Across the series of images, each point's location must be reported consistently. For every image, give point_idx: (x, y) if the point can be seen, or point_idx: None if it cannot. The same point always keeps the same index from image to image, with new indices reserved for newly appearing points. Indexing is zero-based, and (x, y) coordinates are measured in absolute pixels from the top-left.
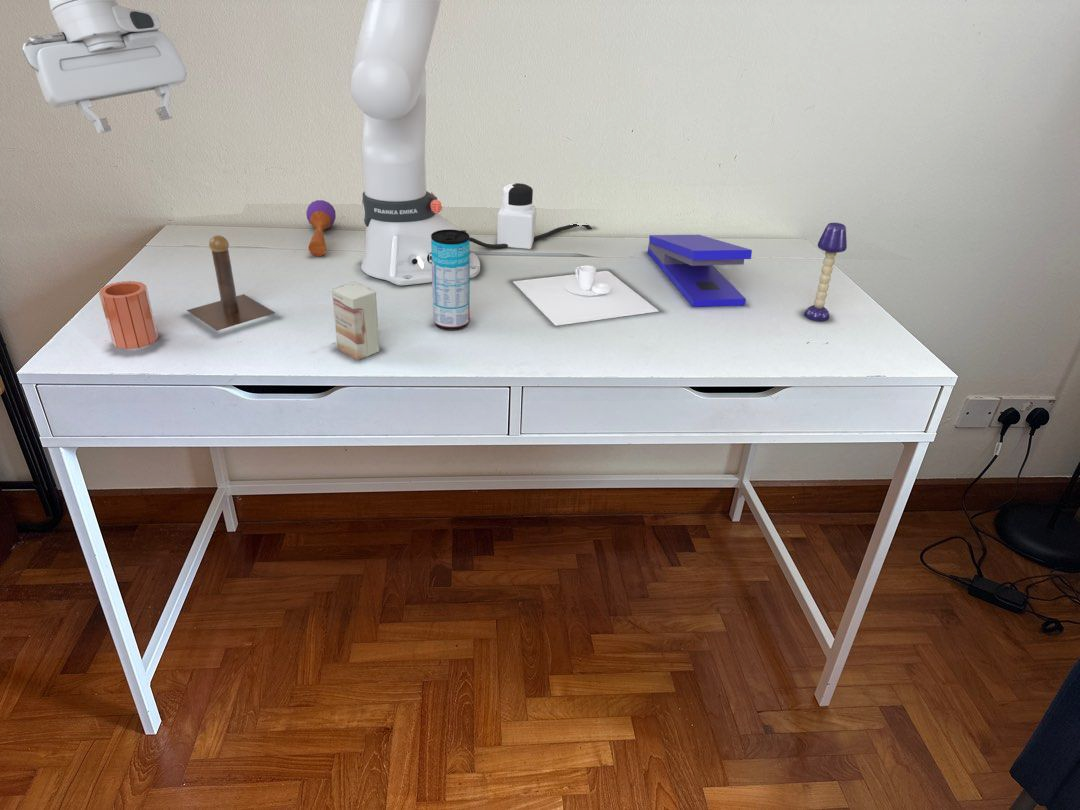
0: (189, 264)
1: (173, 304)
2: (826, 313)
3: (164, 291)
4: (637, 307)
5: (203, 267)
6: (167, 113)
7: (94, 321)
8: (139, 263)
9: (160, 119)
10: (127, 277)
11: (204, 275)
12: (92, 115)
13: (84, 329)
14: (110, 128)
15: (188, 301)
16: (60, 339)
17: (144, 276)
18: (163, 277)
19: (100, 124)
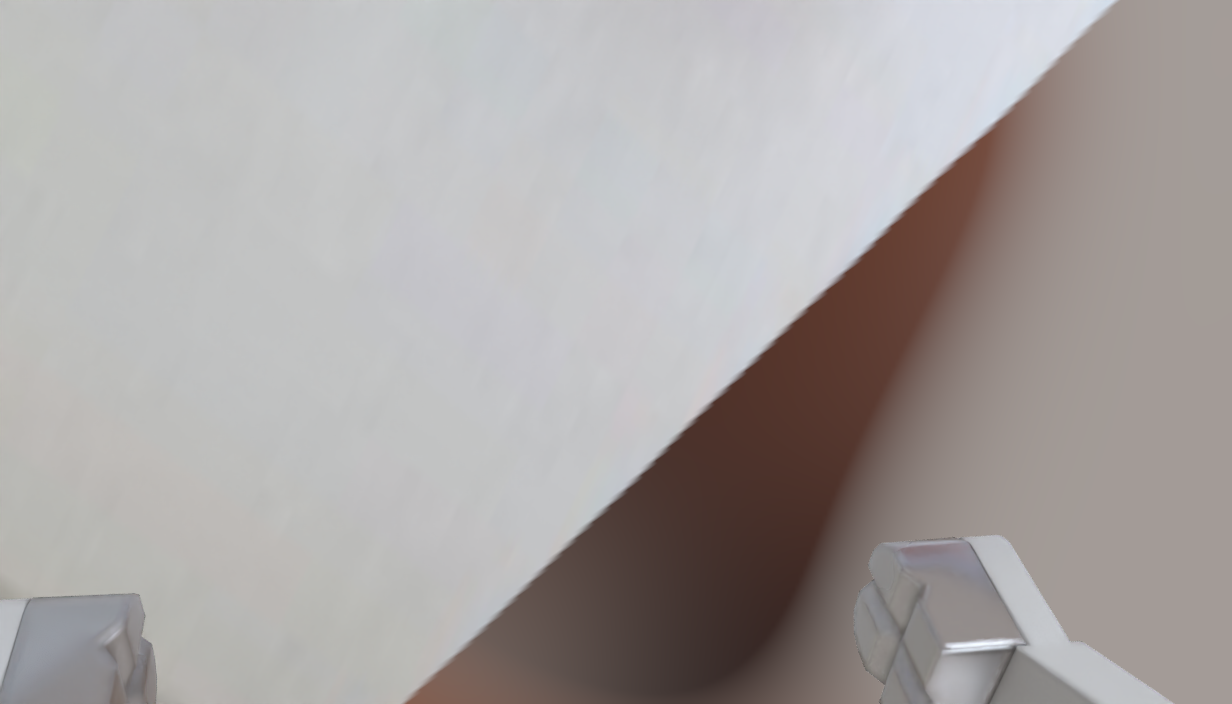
0: (274, 490)
1: (563, 63)
2: None
3: (523, 243)
4: None
5: (234, 412)
6: (25, 635)
7: (902, 121)
8: (457, 636)
9: (153, 674)
10: (574, 508)
11: (278, 310)
12: (1125, 683)
13: (969, 66)
14: (887, 549)
15: (492, 47)
16: (1079, 34)
17: (510, 474)
18: (448, 410)
19: (1010, 591)
